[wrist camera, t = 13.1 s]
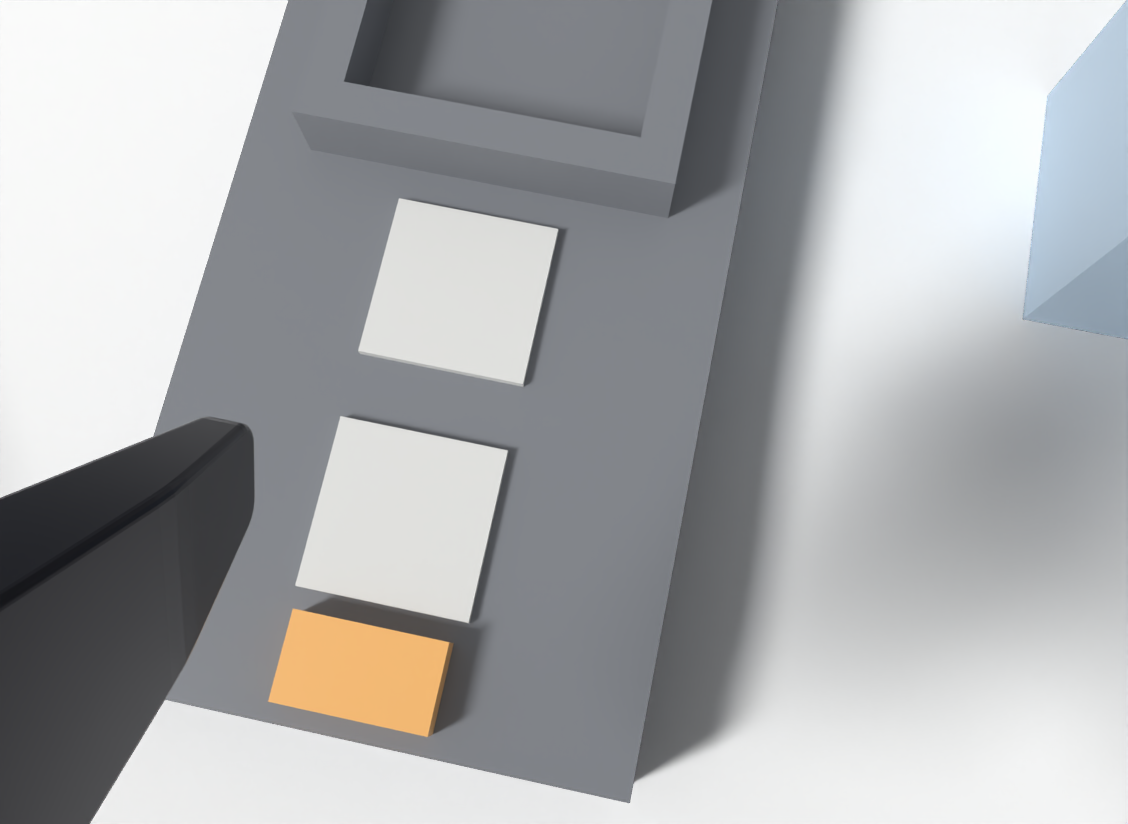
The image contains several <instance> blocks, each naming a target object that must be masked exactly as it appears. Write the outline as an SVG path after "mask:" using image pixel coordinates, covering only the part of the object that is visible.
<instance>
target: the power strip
mask: <svg viewBox="0 0 1128 824" xmlns="http://www.w3.org/2000/svg"><path fill="white" fill-rule="evenodd" d="M777 5H778V0H288V4H287V7H286V10H285V13H284V16H283V20H282V23H281V26H280V29H279V33H278V36H277V39H276V42H275V46H274V49H273V52H272V55H271V58H270V62H269V65H268V68H267V71H266V75H265V78H264V81H263V84H262V88H261V91H260V94H259V97H258V100H257V104H256V107H255V110H254V113H253V117H252V120H251V123H250V126H249V129H248V133H247V136H246V139H245V142H244V146H243V149H242V152H241V155H240V159H239V162H238V165H237V168H236V171H235V175H234V178H233V181H232V184H231V188H230V191H229V194H228V197H227V200H226V204H225V207H224V210H223V213H222V217H221V220H220V223H219V226H218V230H217V233H216V236H215V239H214V242H213V246H212V249H211V252H210V255H209V259H208V262H207V265H206V268H205V271H204V275H203V278H202V281H201V284H200V288H199V291H198V294H197V297H196V301H195V304H194V307H193V310H192V313H191V317H190V320H189V323H188V326H187V330H186V333H185V336H184V339H183V343H182V346H181V349H180V352H179V355H178V359H177V362H176V365H175V368H174V372H173V375H172V378H171V381H170V384H169V388H168V391H167V394H166V397H165V401H164V404H163V407H162V410H161V414H160V417H159V420H158V423H157V426H156V430H155V433H154V436H156V435H158V434H161V433H163V432H166V431H168V430H171V429H173V428H176V427H178V426H181V425H183V424H186V423H188V422H191V421H193V420H196V419H198V418H201V417H206V416H210V417H215V418H220V419H225V420H230V421H235V422H239V423H244V424H246V425H247V426H248V427H249V428H250V429H251V430H252V434H253V437H254V466H255V504H254V510H253V515H252V518H251V522H250V524H249V527H248V529H247V531H246V534H245V536H244V538H243V540H242V542H241V545H240V547H239V549H238V551H237V553H236V556H235V558H234V560H233V562H232V565H231V567H230V569H229V571H228V573H227V576H226V578H225V580H224V582H223V584H222V587H221V589H220V591H219V593H218V595H217V598H216V600H215V602H214V604H213V606H212V609H211V611H210V613H209V615H208V618H207V620H206V622H205V624H204V626H203V629H202V631H201V633H200V635H199V637H198V640H197V642H196V644H195V646H194V648H193V650H192V652H191V654H190V656H189V658H188V660H187V662H186V664H185V666H184V668H183V670H182V671H181V673H180V675H179V677H178V678H177V680H176V682H175V684H174V686H173V687H172V689H171V691H170V692H169V694H168V696H167V697H166V699H165V700H169V701H174V702H178V703H183V704H187V705H191V706H196V707H200V708H205V709H209V710H214V711H218V712H223V713H227V714H232V715H236V716H241V717H245V718H250V719H254V720H259V721H263V722H268V723H272V724H277V725H281V726H286V727H290V728H295V729H299V730H304V731H308V732H313V733H317V734H321V735H326V736H330V737H335V738H339V739H344V740H348V741H353V742H357V743H362V744H366V745H371V746H375V747H380V748H384V749H389V750H393V751H398V752H402V753H407V754H411V755H416V756H420V757H425V758H429V759H434V760H438V761H443V762H447V763H452V764H456V765H460V766H465V767H469V768H474V769H478V770H483V771H487V772H492V773H496V774H501V775H505V776H510V777H514V778H519V779H523V780H528V781H532V782H537V783H541V784H546V785H550V786H555V787H559V788H564V789H568V790H573V791H577V792H582V793H586V794H591V795H595V796H599V797H604V798H608V799H613V800H617V801H622V802H626V803H630V799H631V794H632V788H633V783H634V778H635V772H636V767H637V761H638V756H639V751H640V745H641V740H642V734H643V729H644V724H645V718H646V713H647V707H648V702H649V697H650V691H651V686H652V680H653V675H654V670H655V664H656V659H657V653H658V648H659V642H660V637H661V632H662V626H663V621H664V615H665V610H666V605H667V599H668V594H669V588H670V583H671V578H672V572H673V567H674V561H675V556H676V551H677V545H678V540H679V534H680V529H681V524H682V518H683V513H684V507H685V502H686V497H687V491H688V486H689V480H690V475H691V469H692V464H693V459H694V453H695V448H696V442H697V437H698V432H699V426H700V421H701V415H702V410H703V405H704V399H705V394H706V388H707V383H708V378H709V372H710V367H711V361H712V356H713V351H714V345H715V340H716V334H717V329H718V323H719V318H720V313H721V307H722V302H723V296H724V291H725V286H726V280H727V275H728V269H729V264H730V259H731V253H732V248H733V242H734V237H735V232H736V226H737V221H738V215H739V210H740V205H741V199H742V194H743V188H744V183H745V178H746V172H747V167H748V161H749V156H750V150H751V145H752V140H753V134H754V129H755V123H756V118H757V113H758V107H759V102H760V96H761V91H762V86H763V80H764V75H765V69H766V64H767V59H768V53H769V48H770V42H771V37H772V32H773V26H774V21H775V15H776V10H777Z"/></svg>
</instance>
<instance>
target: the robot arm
mask: <svg viewBox="0 0 1128 824" xmlns="http://www.w3.org/2000/svg"><path fill="white" fill-rule="evenodd" d="M254 504H255V466H254V437H253V434H252V430H251V429H250V428H249V427H248V426H247V425H246V424H244V423H239V422H235V421H230V420H225V419H220V418H215V417H210V416H206V417H201V418H198V419H196V420H193V421H191V422H188V423H186V424H183V425H181V426H178V427H176V428H173V429H171V430H168V431H166V432H163V433H161V434H158V435H156V436H153V437H151V438H148V439H146V440H143V441H141V442H139V443H136V444H134V445H131V446H129V447H126V448H124V449H121V450H119V451H116V452H114V453H111V454H109V455H106V456H104V457H101V458H99V459H96V460H94V461H91V462H89V463H86V464H84V465H81V466H79V467H76V468H74V469H71V470H69V471H66V472H64V473H61V474H59V475H56V476H54V477H51V478H49V479H46V480H44V481H41V482H39V483H36V484H34V485H31V486H29V487H26V488H24V489H21V490H19V491H16V492H14V493H11V494H9V495H6V496H4V497H1V498H0V824H90V823H91V821H92V819H93V818H94V816H95V814H96V813H97V811H98V809H99V808H100V806H101V804H102V803H103V801H104V799H105V798H106V796H107V795H108V793H109V791H110V790H111V788H112V786H113V785H114V783H115V781H116V780H117V778H118V776H119V775H120V773H121V771H122V770H123V768H124V766H125V765H126V763H127V762H128V760H129V758H130V757H131V755H132V753H133V752H134V750H135V748H136V747H137V745H138V743H139V742H140V740H141V738H142V737H143V735H144V733H145V732H146V730H147V729H148V727H149V725H150V724H151V722H152V720H153V719H154V717H155V715H156V714H157V712H158V710H159V709H160V707H161V705H162V704H163V702H164V700H165V699H166V697H167V696H168V694H169V692H170V691H171V689H172V687H173V686H174V684H175V682H176V680H177V678H178V677H179V675H180V673H181V671H182V670H183V668H184V666H185V664H186V662H187V660H188V658H189V656H190V654H191V652H192V650H193V648H194V646H195V644H196V642H197V640H198V637H199V635H200V633H201V631H202V629H203V626H204V624H205V622H206V620H207V618H208V615H209V613H210V611H211V609H212V606H213V604H214V602H215V600H216V598H217V595H218V593H219V591H220V589H221V587H222V584H223V582H224V580H225V578H226V576H227V573H228V571H229V569H230V567H231V565H232V562H233V560H234V558H235V556H236V553H237V551H238V549H239V547H240V545H241V542H242V540H243V538H244V536H245V534H246V531H247V529H248V527H249V524H250V522H251V518H252V515H253V510H254Z"/></svg>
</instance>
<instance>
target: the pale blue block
mask: <svg viewBox="0 0 1128 824" xmlns="http://www.w3.org/2000/svg"><path fill="white" fill-rule="evenodd" d="M1023 319H1025V320H1030V321H1035V322H1040V323H1046V324H1051V325H1056V326H1061V327H1067V328H1072V329H1077V330H1082V331H1088V332H1093V333H1098V334H1103V335H1108V336H1114V337H1119V338H1124V339H1128V0H1126V1H1125V3H1124V4H1123V5H1122V6H1121V8H1120V9H1119V10H1118V11H1117V12H1116V14H1115V15H1114V16H1113V17H1112V18H1111V20H1110V21H1109V22H1108V23H1107V24H1106V26H1105V27H1104V28H1103V29H1102V31H1101V32H1100V33H1099V34H1098V35H1097V37H1096V38H1095V39H1094V40H1093V41H1092V43H1091V44H1090V45H1089V46H1088V47H1087V49H1086V50H1085V51H1084V52H1083V54H1082V55H1081V56H1080V57H1079V58H1078V60H1077V61H1076V62H1075V63H1074V64H1073V66H1072V67H1071V68H1070V69H1069V70H1068V72H1067V73H1066V74H1065V75H1064V76H1063V78H1062V79H1061V80H1060V81H1059V83H1058V84H1057V85H1056V86H1055V87H1054V89H1053V90H1052V91H1051V92H1050V93H1049V95H1048V96H1047V105H1046V114H1045V123H1044V132H1043V141H1042V150H1041V159H1040V168H1039V177H1038V186H1037V195H1036V204H1035V213H1034V222H1033V231H1032V241H1031V250H1030V259H1029V268H1028V277H1027V286H1026V295H1025V304H1024V313H1023Z"/></svg>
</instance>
